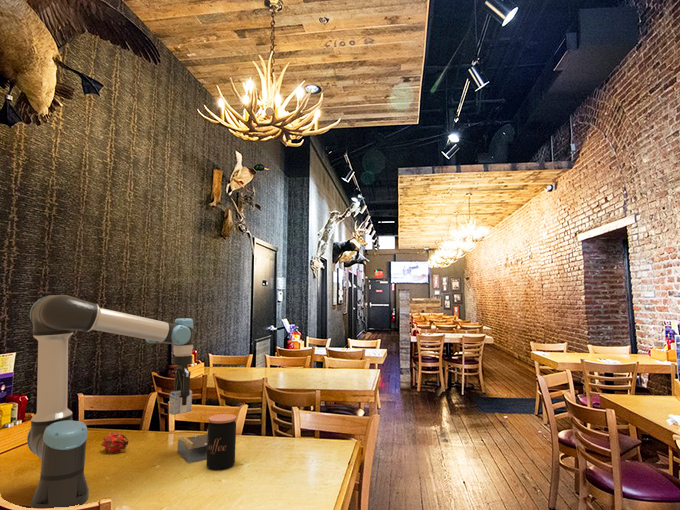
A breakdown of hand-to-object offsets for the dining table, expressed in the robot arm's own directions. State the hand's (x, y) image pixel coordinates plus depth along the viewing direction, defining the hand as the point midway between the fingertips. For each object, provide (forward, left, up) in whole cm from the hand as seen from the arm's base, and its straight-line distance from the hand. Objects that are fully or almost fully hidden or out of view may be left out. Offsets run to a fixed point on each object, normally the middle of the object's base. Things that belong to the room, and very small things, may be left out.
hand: (180, 411), depth 177 cm
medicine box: (0, 0, -1) cm, 1 cm away
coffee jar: (-22, -10, -18) cm, 29 cm away
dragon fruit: (+20, +20, -18) cm, 34 cm away
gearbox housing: (-4, -9, -17) cm, 20 cm away
